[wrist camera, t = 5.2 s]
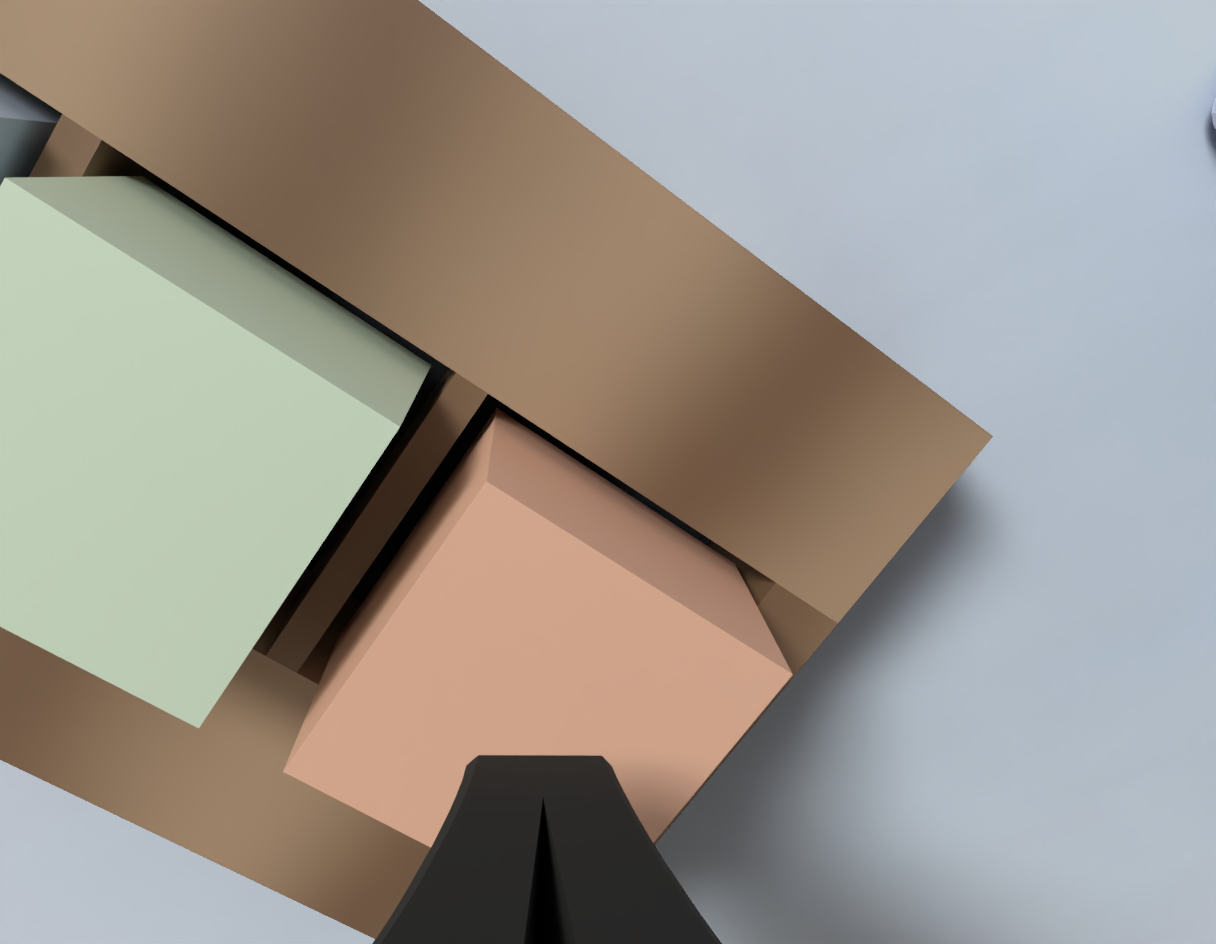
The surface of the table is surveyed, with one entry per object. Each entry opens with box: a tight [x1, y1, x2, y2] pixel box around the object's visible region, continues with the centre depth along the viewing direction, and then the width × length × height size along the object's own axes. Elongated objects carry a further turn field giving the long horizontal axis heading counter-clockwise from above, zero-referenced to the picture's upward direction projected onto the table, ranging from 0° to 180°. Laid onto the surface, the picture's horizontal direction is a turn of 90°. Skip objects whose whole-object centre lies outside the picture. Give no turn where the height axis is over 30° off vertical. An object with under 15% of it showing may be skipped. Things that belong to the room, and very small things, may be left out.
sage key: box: [0, 176, 431, 728], centre depth 12 cm, size 4×4×3 cm
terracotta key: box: [283, 408, 793, 847], centre depth 13 cm, size 4×4×3 cm
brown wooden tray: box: [0, 0, 993, 939], centre depth 14 cm, size 18×12×3 cm, turn 55°
